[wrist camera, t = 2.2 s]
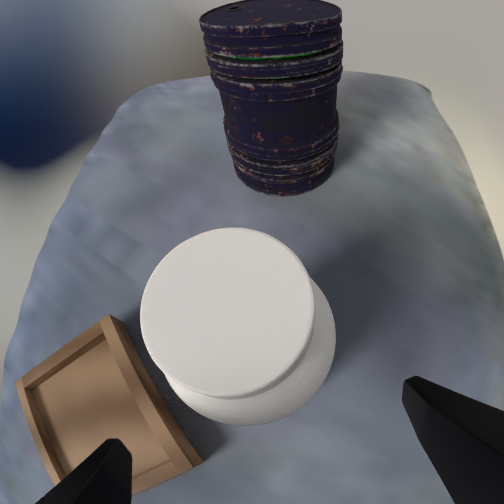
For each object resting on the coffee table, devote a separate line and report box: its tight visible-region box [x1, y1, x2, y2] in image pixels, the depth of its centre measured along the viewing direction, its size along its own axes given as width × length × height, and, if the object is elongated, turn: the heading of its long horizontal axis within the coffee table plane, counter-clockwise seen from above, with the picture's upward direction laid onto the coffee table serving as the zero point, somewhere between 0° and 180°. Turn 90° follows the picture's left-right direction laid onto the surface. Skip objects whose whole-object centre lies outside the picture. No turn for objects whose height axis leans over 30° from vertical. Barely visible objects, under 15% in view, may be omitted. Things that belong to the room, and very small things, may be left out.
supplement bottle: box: [140, 228, 336, 426], centre depth 13 cm, size 7×7×13 cm
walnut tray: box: [15, 314, 203, 495], centre depth 16 cm, size 12×12×2 cm
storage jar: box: [199, 0, 343, 196], centre depth 21 cm, size 10×10×15 cm
